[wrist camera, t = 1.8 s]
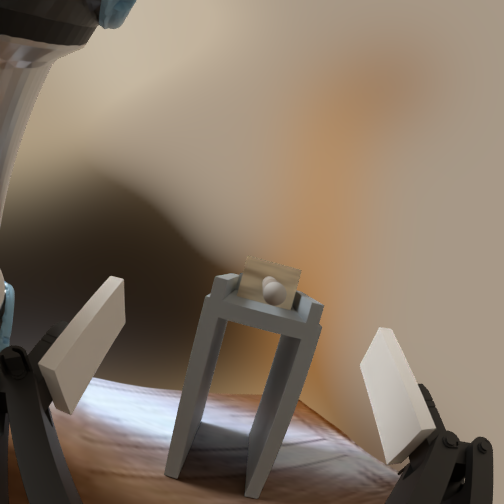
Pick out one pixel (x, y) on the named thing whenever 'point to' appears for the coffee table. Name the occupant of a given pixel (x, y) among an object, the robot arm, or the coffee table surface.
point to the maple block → (269, 283)
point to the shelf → (278, 383)
